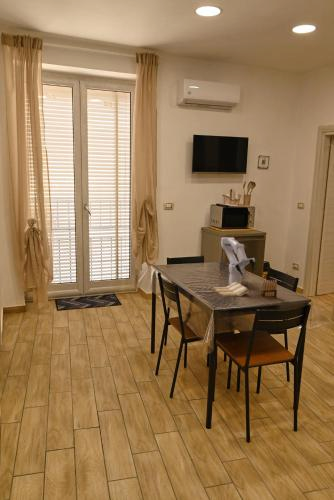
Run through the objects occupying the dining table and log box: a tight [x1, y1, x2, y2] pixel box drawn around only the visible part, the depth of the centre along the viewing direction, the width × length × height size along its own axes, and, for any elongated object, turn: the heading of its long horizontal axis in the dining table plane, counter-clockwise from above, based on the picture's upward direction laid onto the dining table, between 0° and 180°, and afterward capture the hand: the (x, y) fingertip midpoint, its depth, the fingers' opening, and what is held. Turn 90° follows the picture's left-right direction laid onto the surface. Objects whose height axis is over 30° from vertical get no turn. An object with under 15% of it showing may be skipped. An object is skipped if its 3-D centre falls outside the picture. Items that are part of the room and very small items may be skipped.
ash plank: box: [225, 282, 250, 297], centre depth 266 cm, size 18×8×2 cm, turn 15°
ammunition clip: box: [260, 279, 278, 298], centre depth 260 cm, size 11×2×12 cm, turn 109°
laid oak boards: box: [212, 286, 238, 298], centre depth 264 cm, size 18×9×2 cm, turn 15°
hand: (247, 272), depth 261 cm, fingers open, 7 cm apart
